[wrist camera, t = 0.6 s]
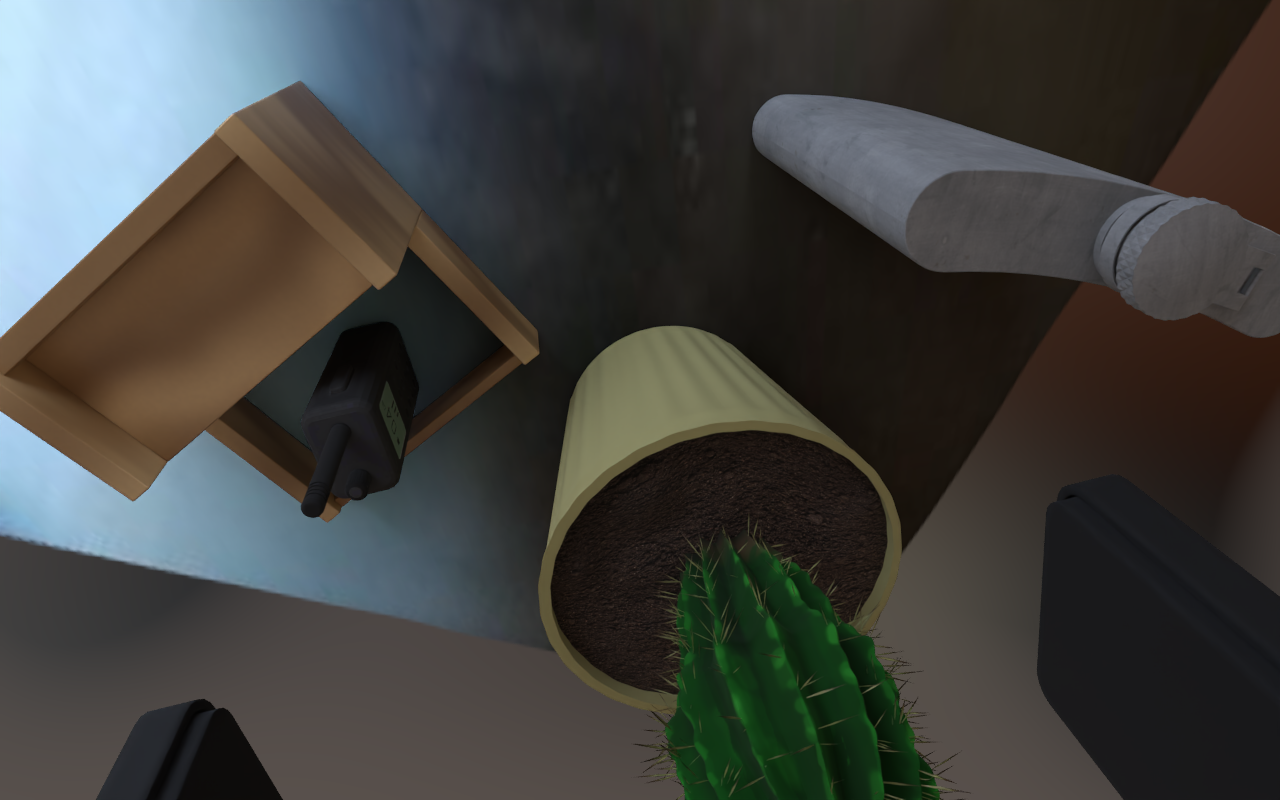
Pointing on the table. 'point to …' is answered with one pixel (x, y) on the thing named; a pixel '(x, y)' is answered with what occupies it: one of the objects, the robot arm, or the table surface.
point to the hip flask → (1023, 210)
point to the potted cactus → (728, 576)
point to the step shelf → (232, 301)
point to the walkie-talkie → (360, 416)
